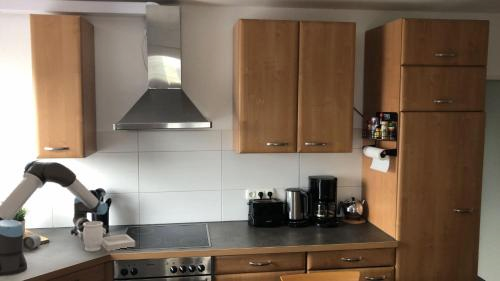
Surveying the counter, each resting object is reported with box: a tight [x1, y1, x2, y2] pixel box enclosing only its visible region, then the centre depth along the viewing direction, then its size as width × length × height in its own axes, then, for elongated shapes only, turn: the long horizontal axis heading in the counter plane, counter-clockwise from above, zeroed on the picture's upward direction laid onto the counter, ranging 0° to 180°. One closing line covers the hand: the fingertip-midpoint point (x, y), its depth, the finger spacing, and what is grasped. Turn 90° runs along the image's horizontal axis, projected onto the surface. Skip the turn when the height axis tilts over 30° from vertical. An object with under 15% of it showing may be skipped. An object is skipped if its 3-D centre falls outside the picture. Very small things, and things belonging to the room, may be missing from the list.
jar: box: [82, 220, 104, 252], centre depth 243 cm, size 11×10×15 cm
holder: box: [100, 234, 136, 252], centre depth 252 cm, size 15×16×4 cm
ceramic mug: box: [23, 233, 42, 251], centre depth 243 cm, size 11×8×8 cm
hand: (92, 233), depth 246 cm, fingers open, 13 cm apart
